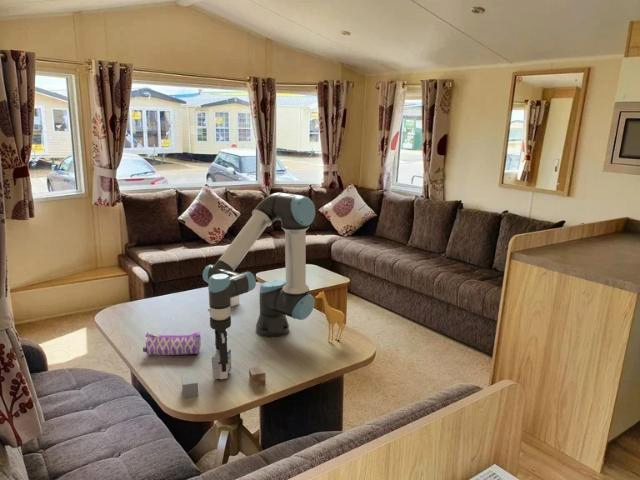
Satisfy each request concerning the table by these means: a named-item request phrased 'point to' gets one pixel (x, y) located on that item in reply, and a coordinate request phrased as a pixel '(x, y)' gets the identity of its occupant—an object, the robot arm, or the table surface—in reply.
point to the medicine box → (217, 366)
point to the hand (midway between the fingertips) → (222, 371)
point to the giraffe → (332, 315)
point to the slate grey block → (190, 386)
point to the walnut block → (257, 376)
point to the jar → (235, 300)
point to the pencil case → (172, 344)
